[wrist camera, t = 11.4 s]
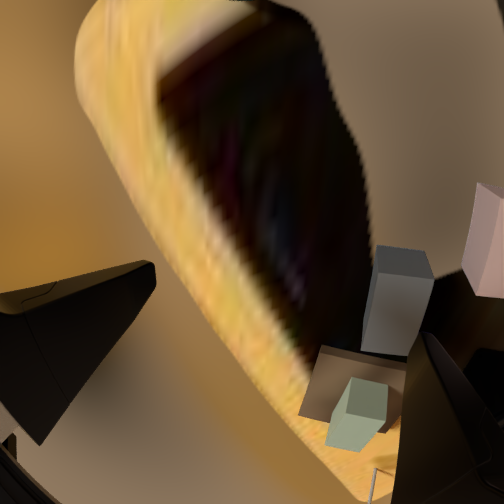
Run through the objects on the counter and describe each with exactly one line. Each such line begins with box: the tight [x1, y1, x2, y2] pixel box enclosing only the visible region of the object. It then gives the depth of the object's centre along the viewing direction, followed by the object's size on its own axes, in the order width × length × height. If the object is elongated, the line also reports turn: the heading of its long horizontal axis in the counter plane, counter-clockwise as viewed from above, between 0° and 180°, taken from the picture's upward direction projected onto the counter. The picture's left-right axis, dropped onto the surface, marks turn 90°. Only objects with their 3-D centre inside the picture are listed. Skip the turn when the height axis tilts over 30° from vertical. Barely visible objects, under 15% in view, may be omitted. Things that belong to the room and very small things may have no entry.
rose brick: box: [461, 183, 504, 298], centre depth 14 cm, size 4×6×4 cm, turn 2°
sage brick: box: [325, 377, 388, 452], centre depth 23 cm, size 4×6×4 cm, turn 174°
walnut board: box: [298, 345, 407, 434], centre depth 25 cm, size 10×10×1 cm
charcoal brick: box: [361, 245, 435, 356], centre depth 18 cm, size 4×6×4 cm, turn 2°
